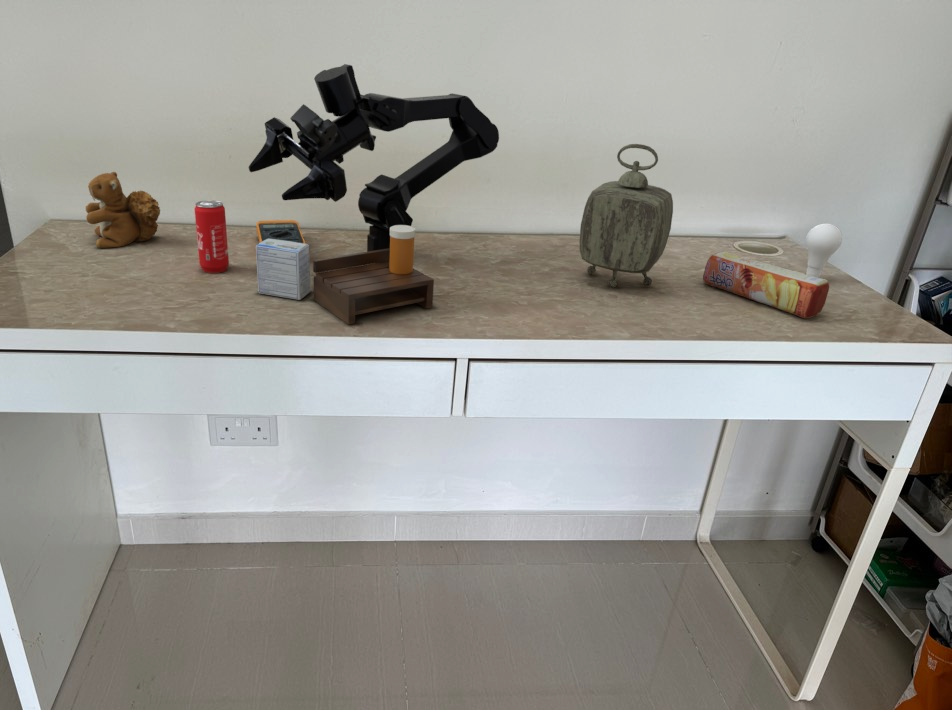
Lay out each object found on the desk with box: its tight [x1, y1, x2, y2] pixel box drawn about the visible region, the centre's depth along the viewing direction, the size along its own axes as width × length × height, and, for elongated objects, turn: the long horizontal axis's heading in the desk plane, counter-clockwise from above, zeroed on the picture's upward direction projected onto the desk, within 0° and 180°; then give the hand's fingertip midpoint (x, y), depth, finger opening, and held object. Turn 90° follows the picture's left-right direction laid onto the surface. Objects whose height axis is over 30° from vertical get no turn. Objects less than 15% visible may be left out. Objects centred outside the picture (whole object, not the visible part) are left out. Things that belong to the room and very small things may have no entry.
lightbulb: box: [805, 222, 843, 278], centre depth 148 cm, size 6×6×11 cm
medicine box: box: [255, 239, 312, 301], centre depth 129 cm, size 8×4×9 cm, turn 71°
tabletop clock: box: [579, 143, 674, 289], centre depth 137 cm, size 14×9×25 cm, turn 62°
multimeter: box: [255, 219, 307, 244], centre depth 152 cm, size 9×18×3 cm, turn 13°
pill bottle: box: [389, 225, 416, 274], centre depth 128 cm, size 4×4×7 cm
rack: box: [312, 248, 435, 326], centre depth 127 cm, size 16×12×7 cm
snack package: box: [702, 250, 830, 319], centre depth 137 cm, size 21×7×7 cm, turn 36°
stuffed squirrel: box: [85, 171, 161, 249], centre depth 150 cm, size 10×14×13 cm
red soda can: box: [194, 199, 230, 274], centre depth 138 cm, size 5×5×12 cm
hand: (265, 183), depth 128 cm, fingers open, 9 cm apart
